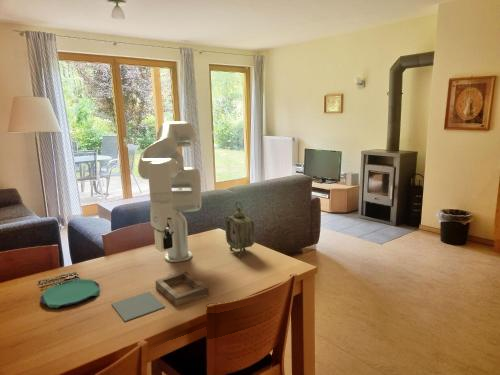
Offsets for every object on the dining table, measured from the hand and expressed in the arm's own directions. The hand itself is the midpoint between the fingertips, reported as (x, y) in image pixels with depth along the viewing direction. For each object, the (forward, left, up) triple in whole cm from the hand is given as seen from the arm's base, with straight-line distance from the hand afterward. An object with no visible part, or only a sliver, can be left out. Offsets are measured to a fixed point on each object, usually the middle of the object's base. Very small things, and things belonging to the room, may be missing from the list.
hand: (164, 245), depth 128 cm
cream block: (0, 0, -1) cm, 1 cm away
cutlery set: (-29, -28, -20) cm, 45 cm away
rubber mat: (0, -11, -20) cm, 23 cm away
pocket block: (0, +6, -20) cm, 21 cm away
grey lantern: (-17, +46, -20) cm, 53 cm away
